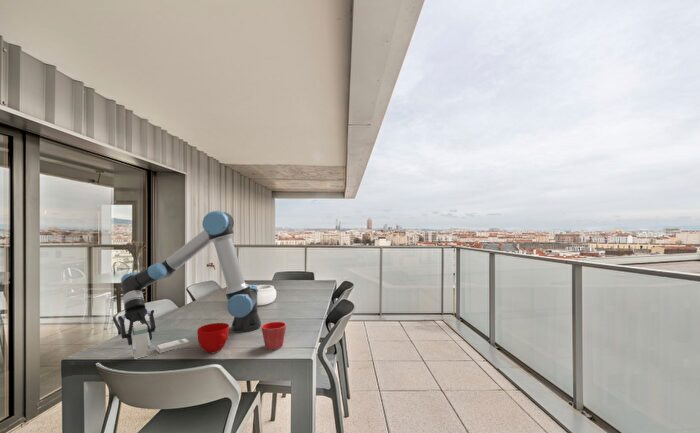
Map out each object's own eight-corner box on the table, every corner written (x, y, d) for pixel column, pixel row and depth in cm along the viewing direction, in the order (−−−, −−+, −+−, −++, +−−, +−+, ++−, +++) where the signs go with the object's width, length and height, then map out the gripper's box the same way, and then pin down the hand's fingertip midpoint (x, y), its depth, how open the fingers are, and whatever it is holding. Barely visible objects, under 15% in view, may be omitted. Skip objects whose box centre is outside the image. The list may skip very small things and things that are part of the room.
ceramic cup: (209, 361, 121) (209, 336, 121) (192, 351, 132) (192, 328, 132) (238, 351, 131) (238, 328, 131) (220, 342, 142) (220, 321, 142)
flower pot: (265, 342, 141) (265, 321, 141) (288, 342, 141) (288, 321, 141) (258, 351, 130) (258, 329, 131) (282, 351, 130) (282, 328, 130)
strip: (185, 342, 142) (185, 337, 142) (189, 345, 138) (189, 341, 138) (155, 350, 134) (155, 345, 134) (159, 353, 130) (159, 348, 130)
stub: (145, 353, 130) (145, 323, 131) (147, 356, 127) (147, 325, 128) (132, 356, 127) (132, 326, 128) (134, 359, 124) (134, 328, 124)
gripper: (155, 303, 145) (164, 347, 133) (109, 311, 132) (114, 360, 120) (157, 294, 141) (167, 338, 129) (110, 301, 129) (116, 350, 117)
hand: (141, 348), depth 125 cm, fingers closed on stub, 4 cm apart
